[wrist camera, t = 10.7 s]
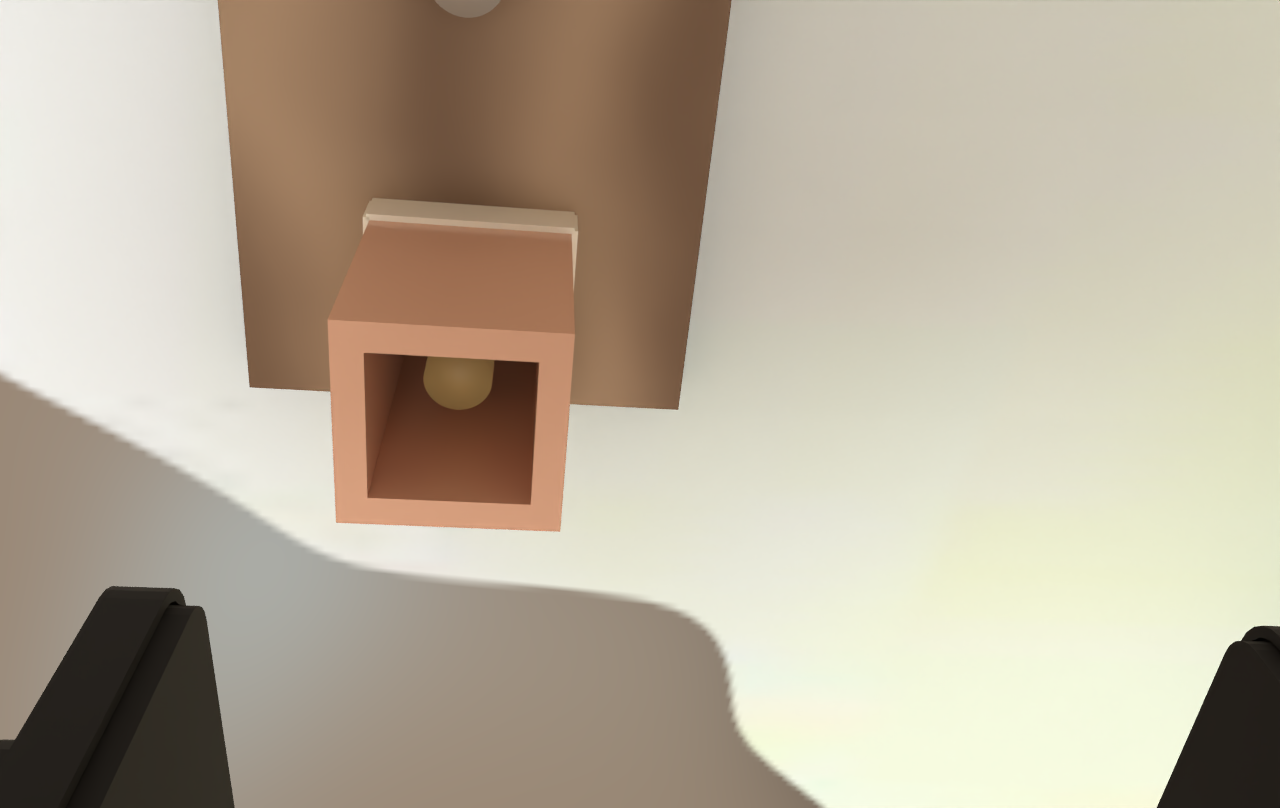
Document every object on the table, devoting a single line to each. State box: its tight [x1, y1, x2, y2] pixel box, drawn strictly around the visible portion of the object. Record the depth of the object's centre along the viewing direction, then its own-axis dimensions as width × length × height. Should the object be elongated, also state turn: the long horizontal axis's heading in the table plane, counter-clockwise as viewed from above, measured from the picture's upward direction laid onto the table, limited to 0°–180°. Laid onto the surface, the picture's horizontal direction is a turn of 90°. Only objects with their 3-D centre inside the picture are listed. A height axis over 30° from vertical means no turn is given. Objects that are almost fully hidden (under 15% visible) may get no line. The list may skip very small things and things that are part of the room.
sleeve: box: [327, 198, 578, 532], centre depth 27 cm, size 5×5×7 cm
